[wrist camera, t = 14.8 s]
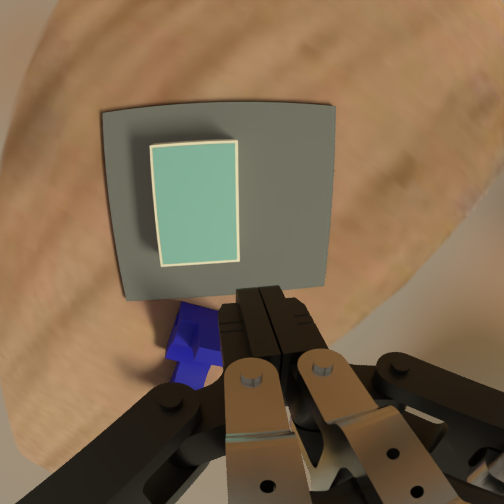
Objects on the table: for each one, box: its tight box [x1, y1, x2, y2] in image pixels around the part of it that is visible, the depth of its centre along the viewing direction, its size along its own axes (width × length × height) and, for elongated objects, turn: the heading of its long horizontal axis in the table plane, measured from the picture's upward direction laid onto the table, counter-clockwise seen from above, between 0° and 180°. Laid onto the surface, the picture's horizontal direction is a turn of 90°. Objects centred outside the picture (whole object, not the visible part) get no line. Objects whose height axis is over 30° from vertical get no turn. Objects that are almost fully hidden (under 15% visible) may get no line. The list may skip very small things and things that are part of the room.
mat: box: [103, 102, 336, 301], centre depth 25 cm, size 16×18×1 cm
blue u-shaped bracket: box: [165, 301, 223, 390], centre depth 28 cm, size 12×4×6 cm, turn 158°
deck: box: [150, 139, 240, 267], centre depth 23 cm, size 9×2×6 cm
